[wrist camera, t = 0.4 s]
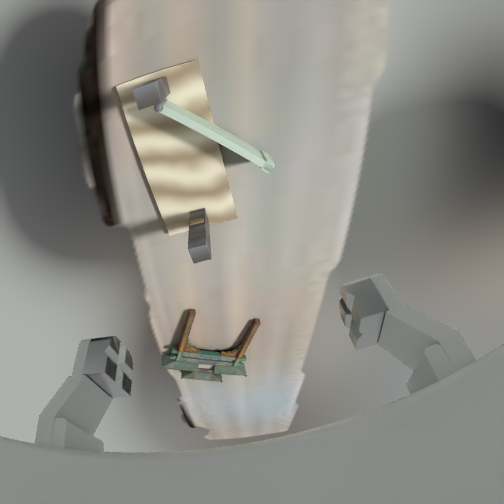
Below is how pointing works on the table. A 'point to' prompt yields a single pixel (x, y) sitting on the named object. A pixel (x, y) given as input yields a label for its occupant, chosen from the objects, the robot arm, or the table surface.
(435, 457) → the robot arm
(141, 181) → the table surface
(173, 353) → the miniature gate
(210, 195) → the base
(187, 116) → the gate panel
